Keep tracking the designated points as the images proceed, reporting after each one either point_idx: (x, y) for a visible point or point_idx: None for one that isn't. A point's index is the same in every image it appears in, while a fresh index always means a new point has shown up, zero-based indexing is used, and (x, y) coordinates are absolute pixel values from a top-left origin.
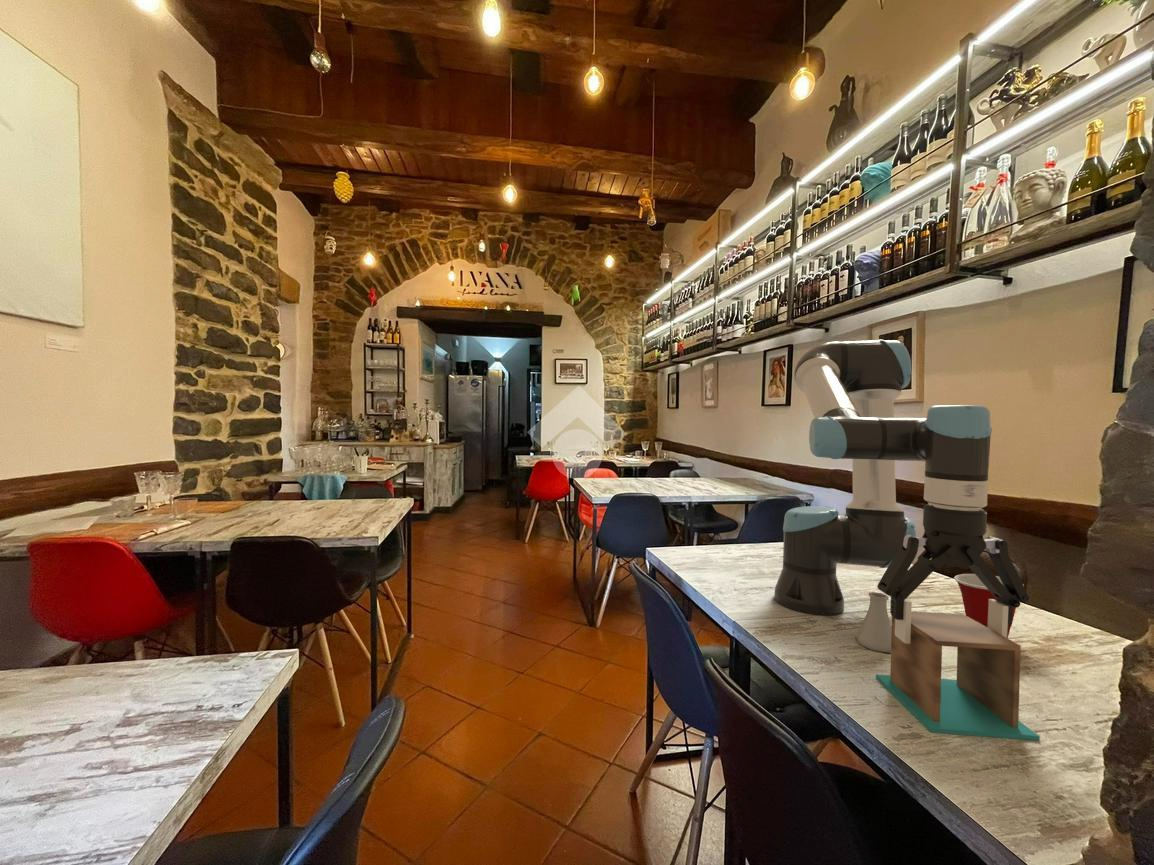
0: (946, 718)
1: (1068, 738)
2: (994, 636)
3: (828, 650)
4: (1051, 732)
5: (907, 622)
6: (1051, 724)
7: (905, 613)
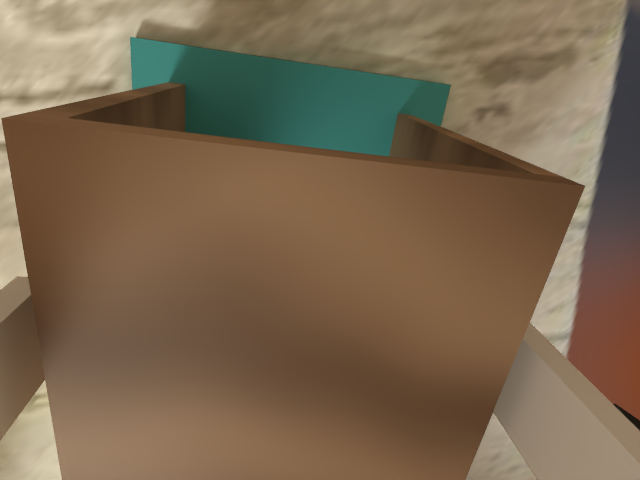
0: (362, 130)
1: (21, 48)
2: (102, 265)
3: None
4: (56, 80)
5: (580, 379)
6: None
7: (632, 428)
